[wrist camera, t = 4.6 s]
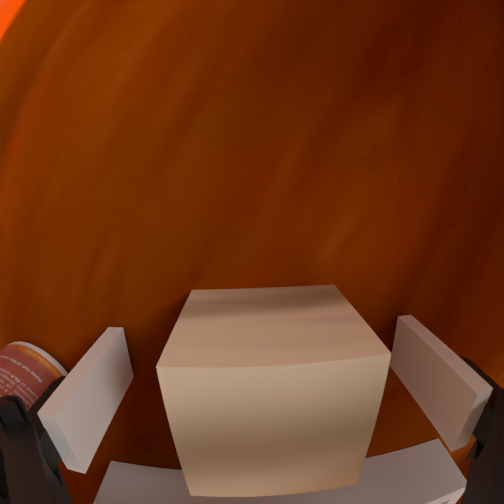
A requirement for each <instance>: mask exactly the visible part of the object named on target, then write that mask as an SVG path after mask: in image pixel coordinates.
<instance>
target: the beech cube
mask: <svg viewBox="0 0 504 504" xmlns="http://www.w3.org/2000/svg"><path fill="white" fill-rule="evenodd" d="M390 358H391V352H390V351H389V350H388V348H387V347H386V346H385V345H384V344H383V342H382V341H381V340H380V339H379V337H378V336H377V335H376V334H375V333H374V331H373V330H372V329H371V328H370V326H369V325H368V324H367V323H366V322H365V320H364V319H363V318H362V317H361V316H360V314H359V313H358V312H357V311H356V310H355V309H354V307H353V306H352V305H351V304H350V303H349V301H348V300H347V299H346V298H345V297H344V295H343V294H342V293H341V292H340V291H339V290H338V288H337V287H336V286H335V285H334V284H332V285H314V286H294V287H272V288H245V289H212V290H192V291H191V293H190V295H189V297H188V299H187V301H186V303H185V305H184V307H183V309H182V311H181V314H180V316H179V318H178V320H177V322H176V324H175V326H174V328H173V331H172V333H171V335H170V337H169V339H168V341H167V343H166V346H165V348H164V350H163V352H162V354H161V357H160V359H159V361H158V363H157V365H156V369H157V374H158V379H159V383H160V388H161V392H162V397H163V401H164V405H165V409H166V413H167V417H168V421H169V425H170V429H171V433H172V436H173V440H174V444H175V447H176V451H177V454H178V458H179V461H180V464H181V467H182V471H183V474H184V477H185V480H186V483H187V486H188V489H189V492H190V495H191V496H210V497H258V496H276V495H288V494H299V493H307V492H315V491H322V490H329V489H335V488H340V487H346V486H351V485H356V483H357V481H358V478H359V475H360V472H361V469H362V466H363V463H364V460H365V457H366V454H367V451H368V448H369V444H370V441H371V438H372V434H373V431H374V427H375V423H376V420H377V416H378V412H379V408H380V404H381V400H382V396H383V392H384V387H385V383H386V378H387V373H388V369H389V364H390Z"/></svg>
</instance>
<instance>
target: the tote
mask: <svg viewBox="0 0 504 504" xmlns="http://www.w3.org/2000/svg"><path fill="white" fill-rule="evenodd" d="M466 483H467V481H466V479H465V478H464V476H463V474H462V473H461V471H460V470H459V468H458V467H457V465H456V464H455V462H454V461H453V459H452V458H451V456H450V455H449V453H448V452H447V450H446V449H445V447H444V446H443V444H442V443H441V441H440V440H439V438H437V439H434V440H431V441H428V442H425V443H422V444H419V445H415V446H412V447H408V448H405V449H401V450H397V451H394V452H390V453H386V454H381V455H377V456H373V457H368V458H365V460H364V463H363V466H362V469H361V472H360V475H359V478H358V481H357V483H356V485H351V486H346V487H340V488H335V489H329V490H322V491H315V492H307V493H299V494H288V495H276V496H258V497H210V496H191V495H190V492H189V489H188V486H187V483H186V480H185V477H184V474H183V471H182V470H178V469H167V468H158V467H149V466H142V465H135V464H129V463H123V462H117V461H111V462H110V464H109V467H108V469H107V471H106V474H105V476H104V479H103V481H102V483H101V486H100V488H99V491H98V493H97V496H96V498H95V501H94V503H93V504H455V503H456V502H457V501H458V499H459V498H460V497H461V495H462V494H463V493H464V491H465V487H466Z"/></svg>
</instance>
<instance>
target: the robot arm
mask: <svg viewBox="0 0 504 504" xmlns="http://www.w3.org/2000/svg"><path fill="white" fill-rule="evenodd" d="M389 365H390V367H391V368H392V369H393V371H394V372H395V373H396V375H397V376H398V377H399V379H400V380H401V382H402V383H403V384H404V386H405V387H406V388H407V390H408V391H409V392H410V394H411V395H412V397H413V398H414V399H415V401H416V402H417V403H418V405H419V406H420V408H421V409H422V410H423V412H424V413H425V415H426V416H427V417H428V419H429V420H430V422H431V423H432V425H433V426H434V427H435V429H436V430H437V432H438V433H439V435H440V436H441V437H442V439H443V440H444V442H445V443H446V445H447V446H448V448H449V449H450V450H451V452H452V451H454V450H457V449H459V448H462V447H464V446H467V444H468V442H469V440H470V438H471V436H472V434H473V435H474V436H475V437H476V439H477V440H476V442H475V444H474V445H473V447H472V449H471V451H470V453H469V454H468V456H467V458H466V460H469V458H470V456H471V455H472V458H471V463H470V469H469V474H468V478H467V483H466V487H465V492H464V496H463V500H462V503H461V504H504V388H503V389H502V388H501V387H500V386H499V385H498V384H496V383H495V382H494V381H493V380H492V379H491V378H490V377H489V376H488V375H487V374H485V373H484V372H483V371H482V370H481V369H480V368H478V366H477V365H475V364H474V363H473V362H472V361H471V360H469V359H467V358H464V357H462V356H460V357H459V356H458V355H457V354H455V353H454V352H453V351H452V350H451V349H450V348H449V347H448V346H446V345H445V344H444V343H443V342H442V341H441V340H440V339H439V338H437V337H436V336H435V335H434V334H433V333H432V332H431V331H429V330H428V329H427V328H426V327H425V326H424V325H422V324H421V323H420V322H419V321H418V320H417V319H415V318H414V317H413V316H412V315H404V316H398V317H397V323H396V330H395V336H394V342H393V348H392V353H391V359H390V364H389ZM133 378H134V375H133V371H132V367H131V362H130V358H129V353H128V349H127V344H126V339H125V335H124V329H123V328H122V327H108V328H107V329H106V331H105V332H104V333H103V334H102V335H101V336H100V337H99V339H98V340H97V341H96V342H95V343H94V344H93V346H92V347H91V348H90V349H89V350H88V351H87V353H86V354H85V355H84V356H83V357H82V358H81V360H80V361H79V362H78V363H77V364H76V366H75V367H74V368H73V369H72V370H71V372H70V373H69V374H68V375H67V376H61V377H59V378H58V379H56V380H54V381H53V382H52V383H51V384H50V385H49V386H48V388H47V390H45V391H44V392H43V394H42V396H40V397H39V398H38V399H37V401H36V402H35V403H34V404H33V406H32V407H31V408H30V409H29V410H28V411H27V409H26V407H25V405H24V403H23V401H22V399H21V398H20V397H18V396H15V395H6V396H3V397H0V504H73V502H72V499H71V497H70V494H69V492H68V489H67V487H66V484H65V481H64V478H63V476H62V473H61V471H60V469H59V467H58V464H59V462H60V460H61V459H62V461H63V462H64V464H65V466H66V467H67V469H69V470H73V471H76V472H80V473H84V474H86V471H87V469H88V467H89V465H90V463H91V461H92V459H93V457H94V455H95V453H96V451H97V448H98V446H99V444H100V442H101V440H102V438H103V436H104V434H105V432H106V430H107V428H108V426H109V424H110V422H111V420H112V418H113V416H114V414H115V412H116V410H117V408H118V406H119V404H120V402H121V401H122V399H123V397H124V395H125V393H126V391H127V389H128V387H129V385H130V383H131V381H132V379H133Z"/></svg>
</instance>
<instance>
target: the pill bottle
mask: <svg viewBox="0 0 504 504" xmlns="http://www.w3.org/2000/svg"><path fill="white" fill-rule="evenodd" d="M67 375H68V373H67V371H66V370H65V369H64V368H63V367H62V366H61V365H60V363H59V362H58V361H56V360H55V359H54V358H53V357H52V356H51V355H49V354H48V353H47V352H45V351H44V350H42V349H41V348H39V347H37V346H35V345H33V344H30V343H27V342H21V341H20V342H13V343H10V344H8V345H7V346H5V347H4V348H2V349H1V350H0V397H3V396H6V395H15V396H18V397H20V398H21V399H22V401H23V403H24V405H25V407H26V409H27V411H28V410H29V409H30V408H31V407H32V406H33V404H34V403H35V402H36V401H37V399H38V398H39V397H40V396H42V394H43V392H44V391H45V390H47V388H48V386H49V385H50V384H51V383H52V382H53V381H54V380H56V379H58V378H59V377H61V376H67Z"/></svg>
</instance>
